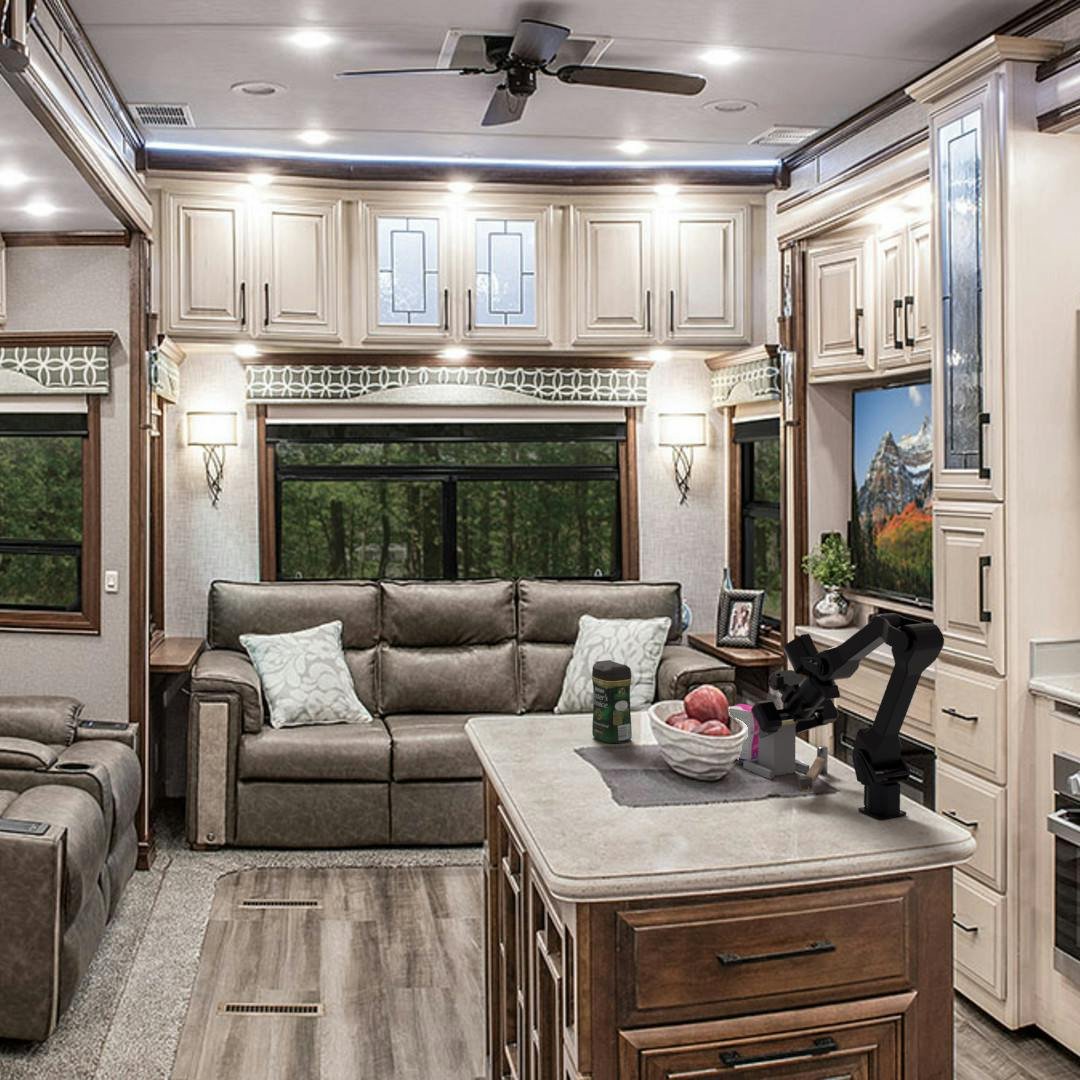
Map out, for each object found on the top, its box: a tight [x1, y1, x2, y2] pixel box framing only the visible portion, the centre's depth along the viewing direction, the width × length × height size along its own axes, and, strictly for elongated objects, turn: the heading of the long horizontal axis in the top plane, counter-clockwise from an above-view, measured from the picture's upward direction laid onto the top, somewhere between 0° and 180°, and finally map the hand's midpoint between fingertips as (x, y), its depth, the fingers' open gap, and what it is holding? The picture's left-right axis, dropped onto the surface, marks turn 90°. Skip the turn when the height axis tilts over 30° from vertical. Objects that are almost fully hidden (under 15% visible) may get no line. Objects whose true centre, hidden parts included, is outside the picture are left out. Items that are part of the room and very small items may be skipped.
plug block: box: [758, 720, 797, 776], centre depth 263 cm, size 6×6×11 cm
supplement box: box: [729, 703, 759, 762], centre depth 274 cm, size 6×6×12 cm
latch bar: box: [798, 756, 826, 793], centre depth 249 cm, size 3×22×2 cm, turn 159°
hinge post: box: [816, 745, 829, 775], centre depth 261 cm, size 2×2×6 cm
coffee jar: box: [591, 659, 633, 744], centre depth 291 cm, size 10×8×19 cm
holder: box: [742, 758, 810, 780], centre depth 264 cm, size 10×10×2 cm
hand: (777, 733), depth 262 cm, fingers open, 9 cm apart
